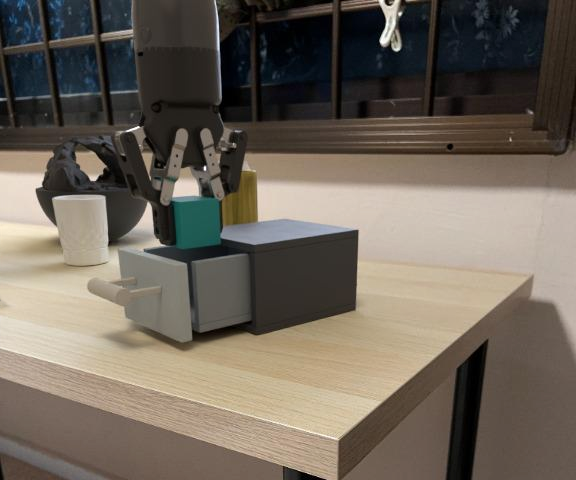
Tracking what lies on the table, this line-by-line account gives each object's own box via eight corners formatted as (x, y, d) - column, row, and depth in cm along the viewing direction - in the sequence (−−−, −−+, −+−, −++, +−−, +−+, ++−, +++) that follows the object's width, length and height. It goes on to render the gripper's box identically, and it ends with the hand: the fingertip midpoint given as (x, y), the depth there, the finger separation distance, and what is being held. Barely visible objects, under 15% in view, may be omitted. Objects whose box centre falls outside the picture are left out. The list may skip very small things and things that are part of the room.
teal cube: (183, 249, 58) (179, 201, 56) (160, 244, 61) (156, 198, 59) (221, 244, 61) (219, 198, 59) (197, 239, 64) (194, 195, 62)
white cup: (111, 256, 102) (104, 194, 98) (114, 265, 95) (106, 198, 91) (62, 259, 100) (52, 195, 96) (60, 268, 93) (50, 200, 89)
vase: (270, 275, 87) (269, 170, 82) (238, 283, 83) (234, 173, 78) (242, 269, 91) (239, 169, 86) (210, 276, 87) (204, 171, 82)
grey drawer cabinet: (256, 335, 62) (254, 244, 58) (189, 310, 71) (184, 230, 67) (356, 309, 71) (359, 229, 67) (285, 290, 79) (284, 218, 76)
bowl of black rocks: (154, 248, 108) (143, 134, 101) (35, 253, 105) (16, 135, 97) (153, 232, 126) (144, 134, 119) (52, 236, 123) (37, 135, 116)
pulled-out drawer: (135, 354, 54) (126, 272, 51) (81, 326, 62) (71, 254, 59) (290, 316, 65) (290, 247, 62) (228, 296, 73) (225, 234, 70)
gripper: (219, 57, 61) (226, 230, 68) (82, 45, 53) (106, 245, 59) (266, 49, 56) (269, 238, 62) (123, 35, 47) (144, 256, 54)
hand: (189, 240), depth 61 cm, fingers closed on teal cube, 4 cm apart
